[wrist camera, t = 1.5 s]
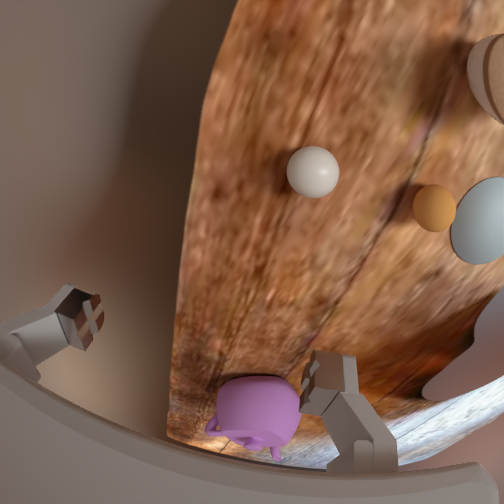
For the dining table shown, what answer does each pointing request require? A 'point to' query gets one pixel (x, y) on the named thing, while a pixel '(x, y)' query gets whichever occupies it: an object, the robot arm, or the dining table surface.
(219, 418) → the teapot
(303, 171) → the cue ball
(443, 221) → the object ball
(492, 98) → the lidded jar
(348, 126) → the dining table surface
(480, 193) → the gray disc
